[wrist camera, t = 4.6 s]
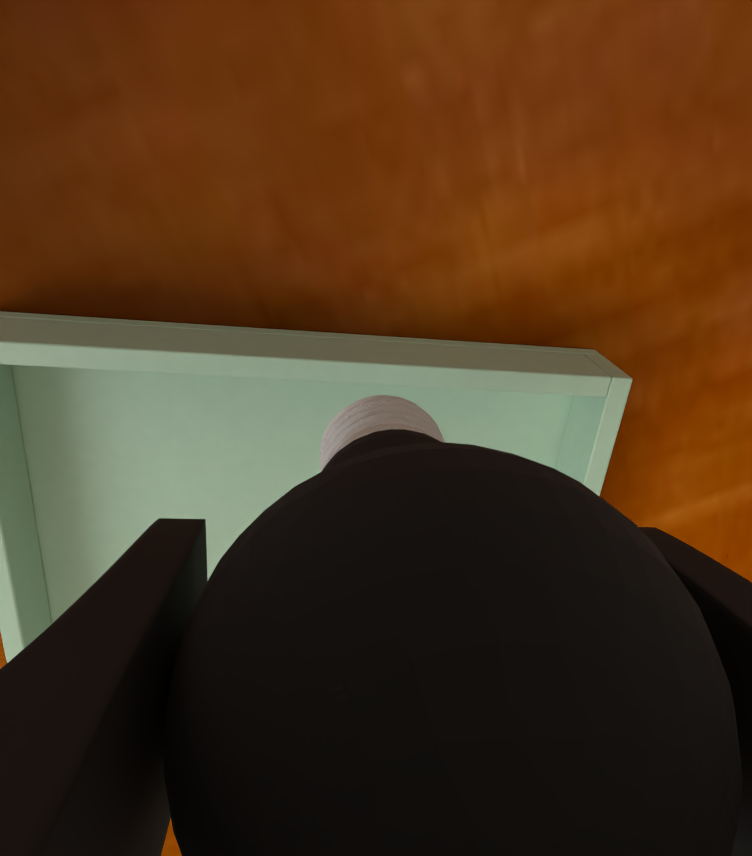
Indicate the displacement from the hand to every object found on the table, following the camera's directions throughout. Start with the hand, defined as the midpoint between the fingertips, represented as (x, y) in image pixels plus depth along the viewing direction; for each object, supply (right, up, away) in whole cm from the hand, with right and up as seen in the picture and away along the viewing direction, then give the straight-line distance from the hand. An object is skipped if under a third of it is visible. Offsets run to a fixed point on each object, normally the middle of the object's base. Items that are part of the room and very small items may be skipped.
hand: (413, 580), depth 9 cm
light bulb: (-1, +2, +5) cm, 5 cm away
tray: (-3, -2, +12) cm, 13 cm away
